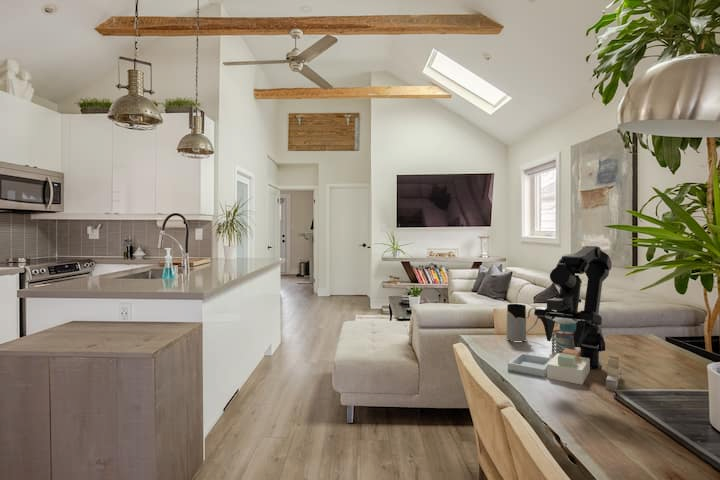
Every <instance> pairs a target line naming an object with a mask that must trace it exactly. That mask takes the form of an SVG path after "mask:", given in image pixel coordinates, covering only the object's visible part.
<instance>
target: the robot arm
mask: <svg viewBox="0 0 720 480" xmlns="http://www.w3.org/2000/svg"><path fill="white" fill-rule="evenodd" d="M610 270H612V260H611V257H610V256H609V254H608V253H606V252H604V251H603V250H602V249H601V247H600V246H597V245H585V246H583V247H582V249H580V250H578V251H577V252H575V253H573V254H571V253H569V254H562V256H561V258H560V259H559V260H558V262H557V264H556V266H555V268H553V269H552V270H551V272H550V274H549V280H550V281H551V282H552V283H553V284H554V285H555V286H556V287H558V288H559V293H556V296H555V298H548V299H546V307H542V306H537V307H535V308H536V309H534V311H533V315H534V316H536V318H537V317H538V320H539V319H540V321H541V322H542V324H543V327H544V332H545V336H546V340H547V342H551V340H552V335H553V334H554V332H553V331H554V330H555V327H554V326H556V323H555V321H553V319H554V318H557V317H558V318H568V319H577V323H576V330H575V331H574V344H575V348H580V349H579V351H580V357H585V358H590V369H594V370H599V369H600V368H601V366H602V363H600V352H605V351H606V341H605V338H604V335H603V334H602V333H603V329H602V328H601V325H602V322H603V319H602V316H601V315H600V314H599V312H600V305H601V297H602V290H603V289H602V287H603V282H604V281H605V280H606V279H607V277H608V276H610V275H609V273H610ZM583 274H585V275H586V277H587V285H586V290H585V291H586V292H585V298H584V299H585V300H584V306H583V310H580V311H579V304H580V303H582V299H581V298H580V296H581V295H580V294H581V289H582V288H581V287H582V283H583V281H582V278H580V275H583ZM569 315H572V316H569Z"/></svg>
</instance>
